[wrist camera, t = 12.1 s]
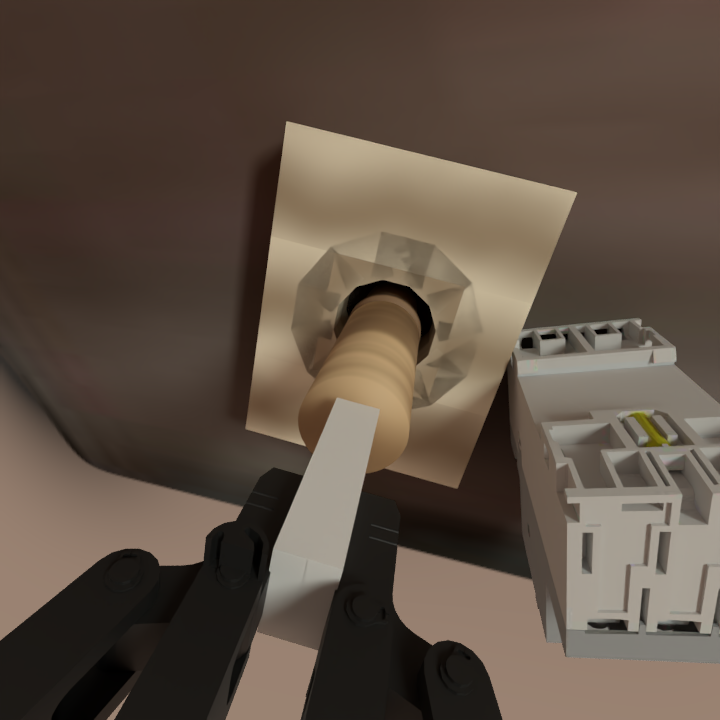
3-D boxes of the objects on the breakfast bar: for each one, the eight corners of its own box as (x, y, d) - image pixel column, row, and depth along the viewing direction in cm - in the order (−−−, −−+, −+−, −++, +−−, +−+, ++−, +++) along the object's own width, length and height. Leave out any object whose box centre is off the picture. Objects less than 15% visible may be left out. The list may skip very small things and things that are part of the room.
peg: (366, 269, 28) (307, 361, 15) (431, 286, 28) (424, 394, 15) (352, 330, 30) (288, 457, 17) (413, 346, 30) (394, 487, 17)
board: (308, 126, 25) (286, 121, 22) (556, 187, 25) (577, 192, 21) (266, 399, 33) (245, 429, 29) (455, 451, 32) (457, 488, 29)
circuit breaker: (514, 512, 34) (565, 751, 20) (505, 331, 28) (567, 490, 15) (625, 509, 32) (762, 767, 19) (638, 317, 27) (845, 482, 13)
